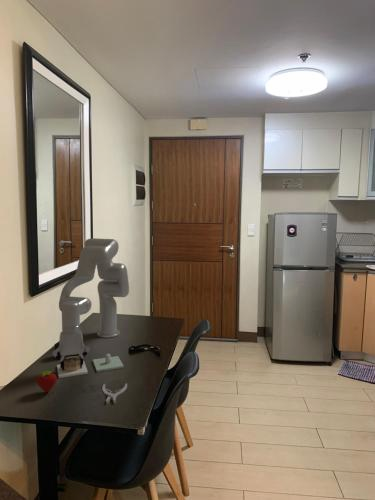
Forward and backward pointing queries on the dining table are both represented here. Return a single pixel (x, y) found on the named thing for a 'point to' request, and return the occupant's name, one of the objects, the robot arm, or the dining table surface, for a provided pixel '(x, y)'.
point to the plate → (107, 363)
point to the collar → (71, 363)
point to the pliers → (113, 396)
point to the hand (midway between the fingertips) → (72, 367)
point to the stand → (67, 374)
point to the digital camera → (59, 352)
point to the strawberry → (46, 380)
